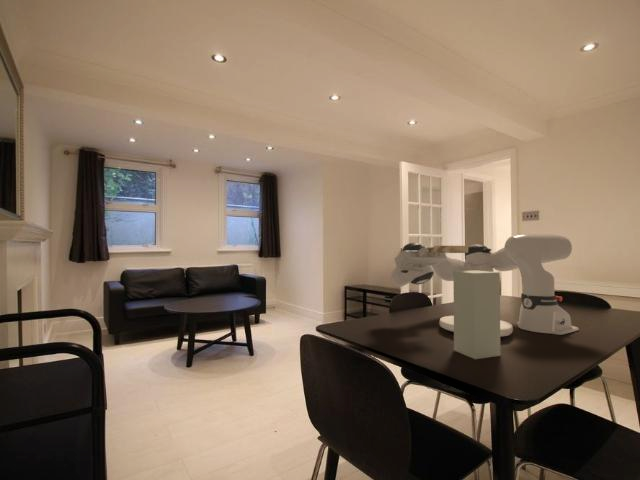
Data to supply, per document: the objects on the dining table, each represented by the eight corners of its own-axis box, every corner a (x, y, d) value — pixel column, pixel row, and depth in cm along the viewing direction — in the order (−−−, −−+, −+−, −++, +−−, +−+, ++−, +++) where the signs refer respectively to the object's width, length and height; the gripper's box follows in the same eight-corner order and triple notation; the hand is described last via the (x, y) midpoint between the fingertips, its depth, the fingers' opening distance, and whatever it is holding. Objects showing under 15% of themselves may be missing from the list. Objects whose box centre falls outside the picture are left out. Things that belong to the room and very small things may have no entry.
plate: (434, 312, 148) (499, 315, 142) (434, 327, 147) (499, 330, 142) (445, 319, 120) (525, 322, 115) (445, 337, 120) (526, 342, 114)
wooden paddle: (418, 251, 129) (418, 245, 129) (433, 251, 131) (433, 245, 131) (451, 253, 111) (451, 245, 111) (468, 252, 114) (468, 245, 114)
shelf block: (478, 347, 111) (477, 270, 112) (500, 355, 103) (499, 272, 103) (454, 350, 108) (453, 271, 109) (475, 359, 100) (474, 273, 100)
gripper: (437, 270, 140) (457, 255, 128) (395, 272, 133) (412, 255, 122) (432, 257, 143) (451, 241, 131) (390, 258, 136) (407, 241, 125)
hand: (432, 248), depth 127 cm, fingers closed on wooden paddle, 2 cm apart
